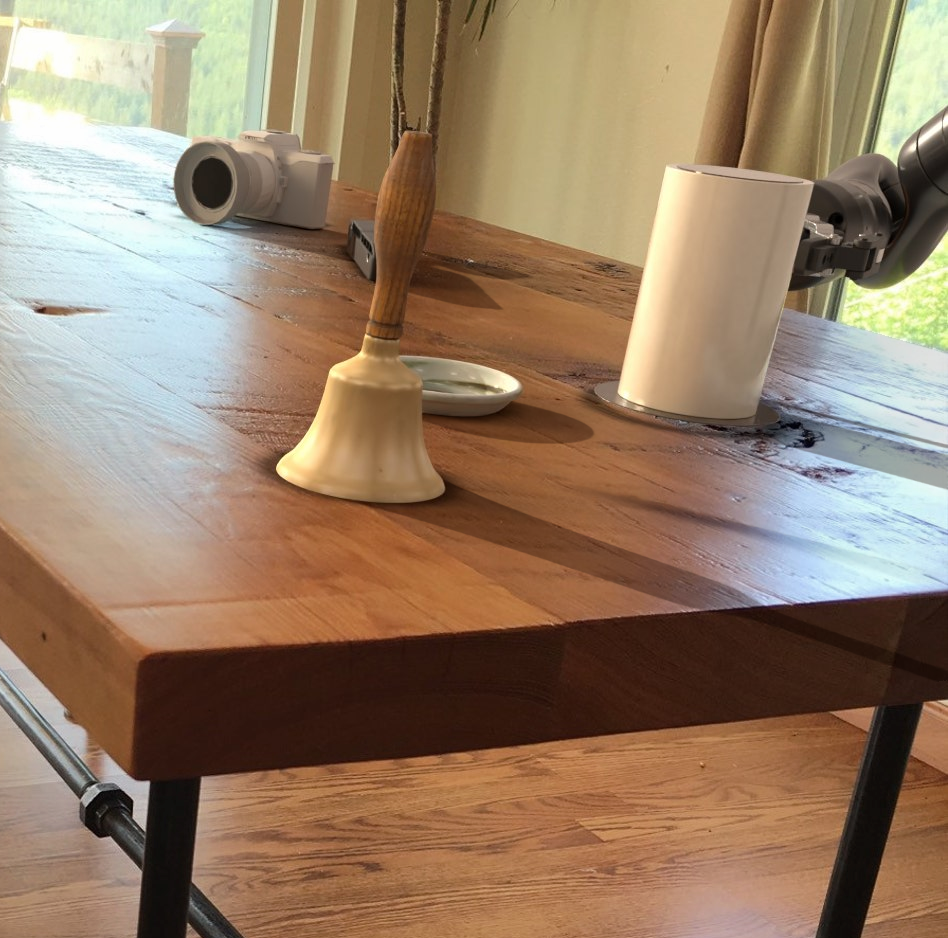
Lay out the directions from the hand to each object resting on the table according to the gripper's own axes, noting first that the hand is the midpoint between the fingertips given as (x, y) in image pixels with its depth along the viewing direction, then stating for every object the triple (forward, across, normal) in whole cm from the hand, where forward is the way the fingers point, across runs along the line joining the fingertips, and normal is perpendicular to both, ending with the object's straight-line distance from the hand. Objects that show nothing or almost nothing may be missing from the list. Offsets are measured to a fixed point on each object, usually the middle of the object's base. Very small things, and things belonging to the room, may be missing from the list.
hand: (738, 247), depth 110 cm
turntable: (+16, +4, +8) cm, 18 cm away
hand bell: (+46, -1, +8) cm, 47 cm away
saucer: (+30, -6, +8) cm, 32 cm away
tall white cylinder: (+14, +3, +7) cm, 16 cm away
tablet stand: (-16, -36, +9) cm, 41 cm away
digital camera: (-28, -60, +9) cm, 67 cm away
